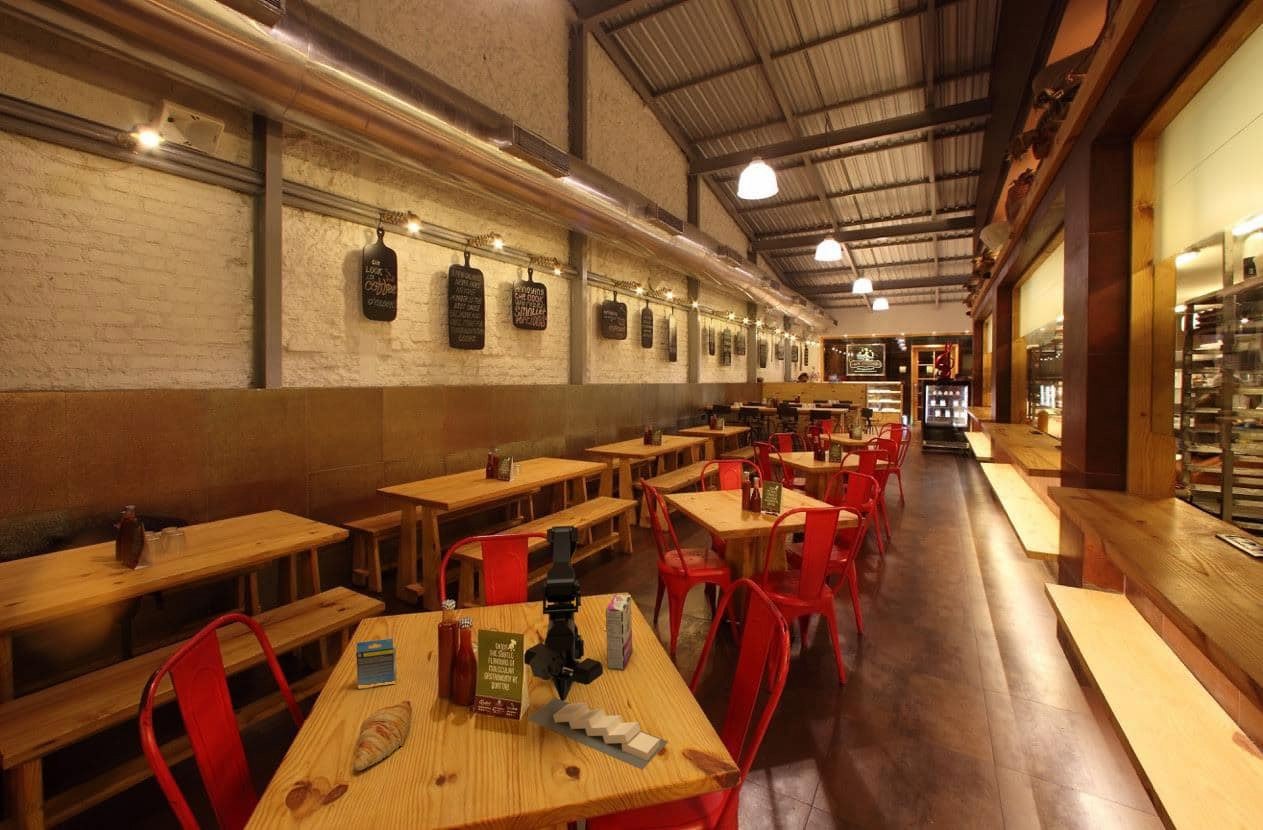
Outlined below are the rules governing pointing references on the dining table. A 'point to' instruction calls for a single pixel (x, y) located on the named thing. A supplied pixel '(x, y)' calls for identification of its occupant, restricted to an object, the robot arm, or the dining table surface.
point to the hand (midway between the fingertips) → (563, 699)
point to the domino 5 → (642, 745)
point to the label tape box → (376, 662)
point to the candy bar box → (619, 631)
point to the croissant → (382, 734)
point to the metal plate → (596, 742)
